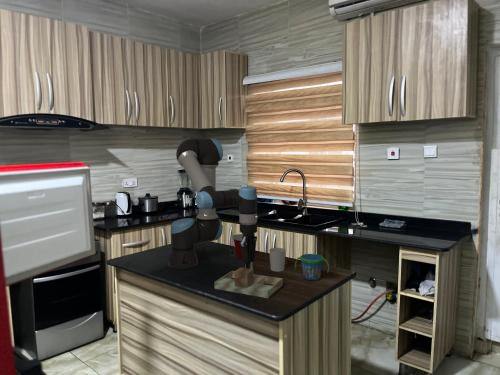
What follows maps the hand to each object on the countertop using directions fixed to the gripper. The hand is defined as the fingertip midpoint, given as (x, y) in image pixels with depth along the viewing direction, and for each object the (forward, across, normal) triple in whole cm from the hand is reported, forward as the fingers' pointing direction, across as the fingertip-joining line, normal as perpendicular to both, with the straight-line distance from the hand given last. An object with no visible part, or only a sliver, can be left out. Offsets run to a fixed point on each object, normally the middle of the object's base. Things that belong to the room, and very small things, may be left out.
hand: (249, 276), depth 164 cm
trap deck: (+5, 0, 0) cm, 5 cm away
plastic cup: (+5, +38, +22) cm, 45 cm away
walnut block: (+2, -5, 0) cm, 5 cm away
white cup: (+5, +27, -2) cm, 28 cm away
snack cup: (+5, +22, -21) cm, 31 cm away
